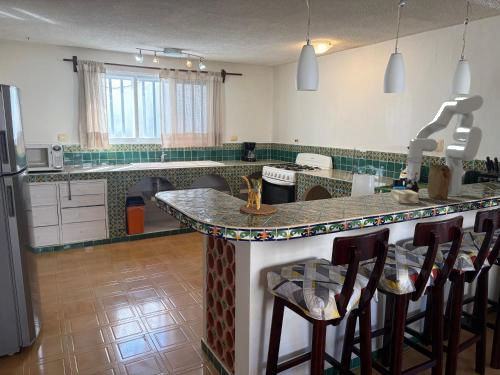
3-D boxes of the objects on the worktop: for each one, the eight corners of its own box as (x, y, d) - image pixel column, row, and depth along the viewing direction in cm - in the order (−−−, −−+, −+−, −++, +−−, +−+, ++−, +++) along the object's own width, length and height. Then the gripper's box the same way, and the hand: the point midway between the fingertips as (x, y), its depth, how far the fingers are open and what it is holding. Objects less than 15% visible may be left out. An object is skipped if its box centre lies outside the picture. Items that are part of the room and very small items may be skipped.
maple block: (409, 200, 212) (410, 189, 211) (418, 204, 201) (419, 193, 200) (390, 199, 212) (391, 189, 211) (398, 204, 201) (399, 193, 200)
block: (425, 196, 220) (428, 163, 216) (434, 196, 222) (438, 163, 219) (440, 200, 210) (444, 166, 206) (449, 200, 212) (454, 165, 209)
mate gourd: (414, 196, 221) (417, 171, 218) (420, 199, 213) (423, 173, 210) (402, 196, 221) (404, 171, 218) (408, 199, 213) (410, 173, 210)
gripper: (403, 158, 222) (400, 187, 225) (413, 161, 205) (410, 192, 208) (416, 158, 221) (413, 187, 225) (427, 162, 204) (423, 193, 208)
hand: (411, 189), depth 217 cm, fingers closed on mate gourd, 7 cm apart
